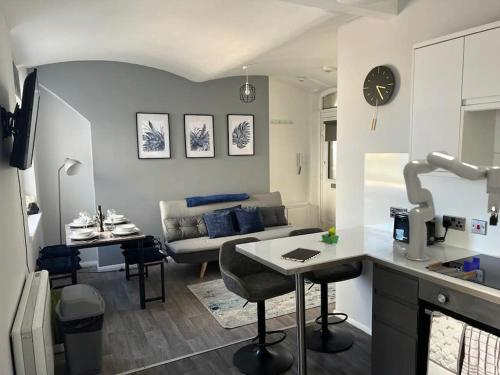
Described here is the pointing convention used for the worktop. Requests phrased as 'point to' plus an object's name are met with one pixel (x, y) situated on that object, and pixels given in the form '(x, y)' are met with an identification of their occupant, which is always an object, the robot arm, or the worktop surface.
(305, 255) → the dark spiral notebook
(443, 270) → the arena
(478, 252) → the worktop surface
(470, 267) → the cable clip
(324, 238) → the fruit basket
